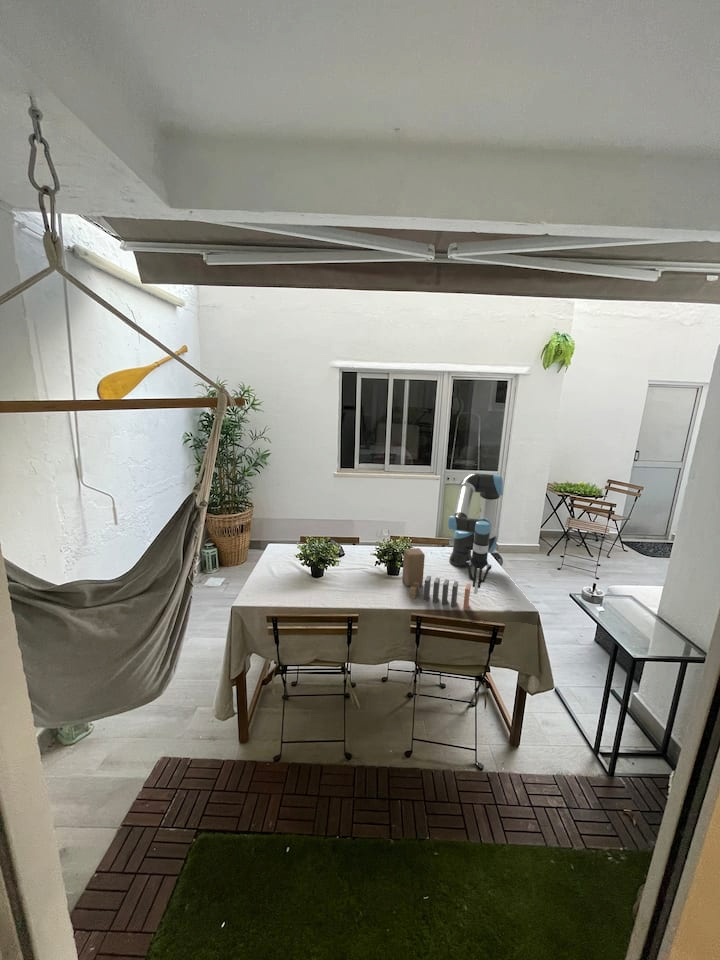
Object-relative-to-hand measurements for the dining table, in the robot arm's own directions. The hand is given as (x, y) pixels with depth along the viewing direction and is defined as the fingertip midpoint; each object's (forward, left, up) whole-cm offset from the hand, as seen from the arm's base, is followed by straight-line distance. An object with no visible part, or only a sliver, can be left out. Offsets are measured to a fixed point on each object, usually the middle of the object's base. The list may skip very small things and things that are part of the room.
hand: (475, 592), depth 215 cm
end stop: (0, -33, -9) cm, 34 cm away
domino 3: (0, -16, -9) cm, 18 cm away
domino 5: (0, -4, -9) cm, 10 cm away
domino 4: (0, -11, -9) cm, 14 cm away
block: (-14, -38, -10) cm, 41 cm away
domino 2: (0, -21, -9) cm, 23 cm away
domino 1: (0, -26, -9) cm, 27 cm away
